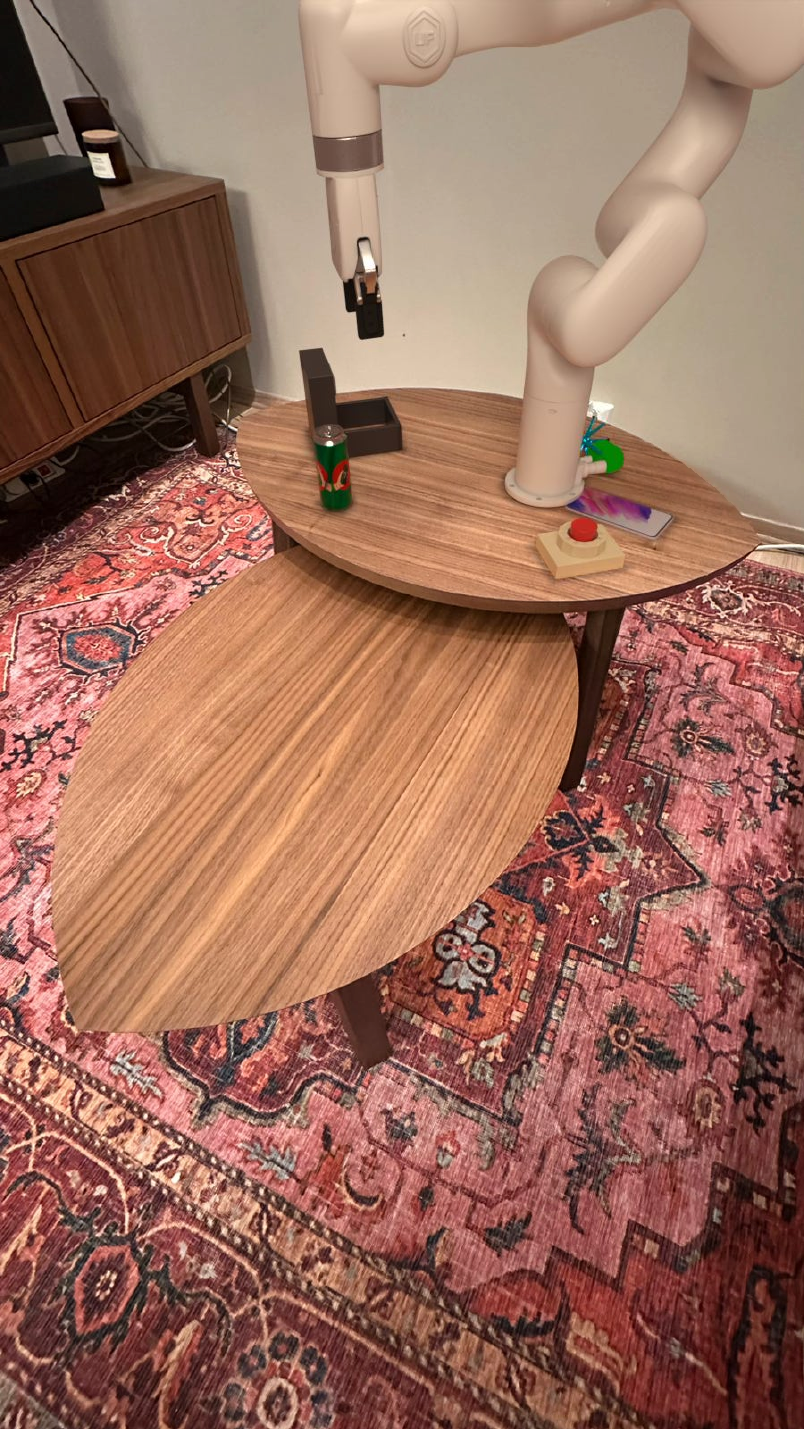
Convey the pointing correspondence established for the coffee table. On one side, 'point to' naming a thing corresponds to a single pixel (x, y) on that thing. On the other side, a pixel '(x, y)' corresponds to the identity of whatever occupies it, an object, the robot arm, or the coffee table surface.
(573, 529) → the button
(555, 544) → the control block
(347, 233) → the robot arm
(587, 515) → the smartphone
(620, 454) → the stick construction toy
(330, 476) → the soda can
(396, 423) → the brown can holder
